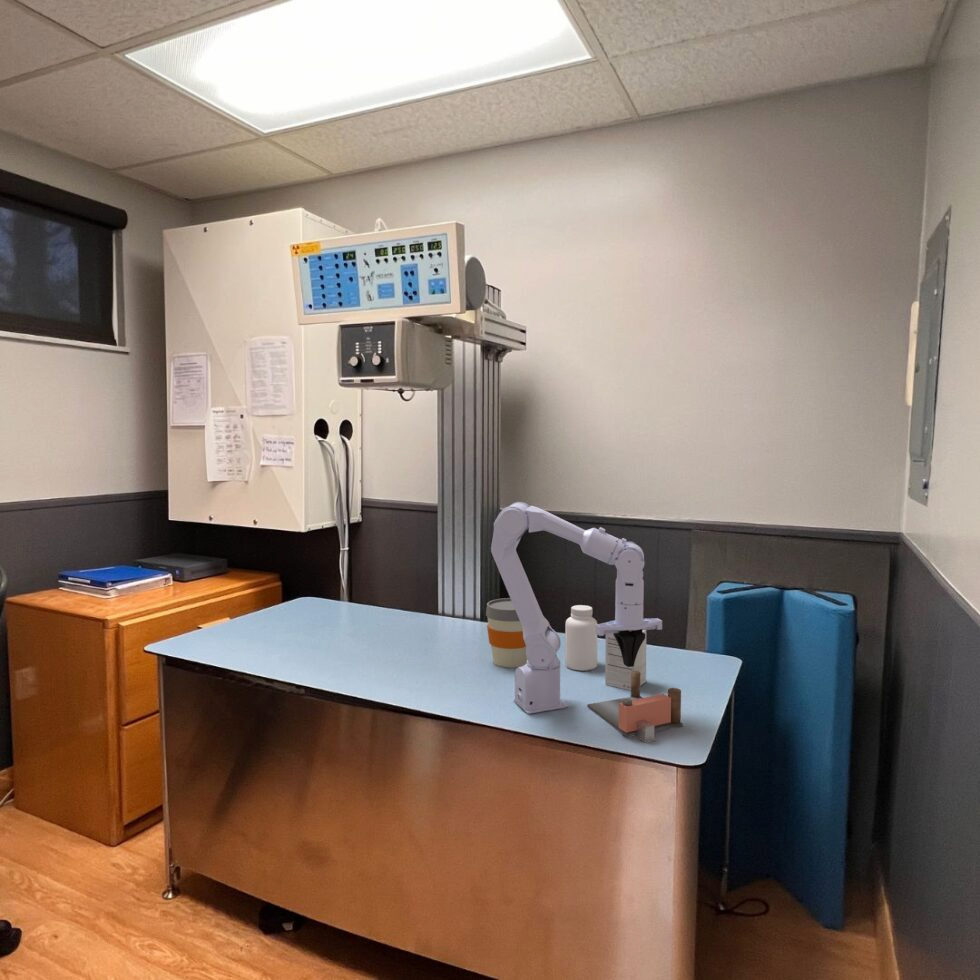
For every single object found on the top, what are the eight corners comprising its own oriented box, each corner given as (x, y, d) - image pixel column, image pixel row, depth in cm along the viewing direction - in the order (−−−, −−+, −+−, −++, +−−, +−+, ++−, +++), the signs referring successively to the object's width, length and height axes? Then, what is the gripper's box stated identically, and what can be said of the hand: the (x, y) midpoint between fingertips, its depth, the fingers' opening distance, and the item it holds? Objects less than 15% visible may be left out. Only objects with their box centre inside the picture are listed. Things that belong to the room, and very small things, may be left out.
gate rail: (670, 722, 137) (671, 694, 137) (626, 732, 133) (626, 704, 132) (662, 717, 140) (663, 690, 139) (618, 727, 135) (618, 699, 134)
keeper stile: (645, 742, 131) (645, 727, 131) (636, 736, 134) (636, 721, 134) (654, 740, 132) (654, 725, 132) (645, 734, 135) (645, 719, 134)
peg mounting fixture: (626, 737, 134) (626, 702, 133) (585, 705, 149) (585, 673, 148) (683, 725, 138) (684, 692, 138) (637, 696, 154) (638, 665, 153)
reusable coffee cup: (519, 673, 169) (519, 613, 167) (476, 664, 175) (476, 606, 174) (543, 658, 179) (543, 601, 178) (502, 650, 186) (502, 595, 185)
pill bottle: (599, 662, 176) (599, 604, 175) (595, 672, 168) (595, 612, 167) (568, 659, 178) (568, 602, 177) (562, 670, 171) (563, 610, 169)
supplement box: (618, 675, 167) (618, 624, 166) (646, 681, 162) (647, 629, 161) (604, 684, 161) (604, 631, 160) (633, 691, 156) (634, 637, 155)
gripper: (650, 594, 150) (649, 655, 151) (589, 600, 145) (588, 662, 147) (667, 602, 143) (666, 666, 144) (604, 608, 139) (603, 674, 140)
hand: (628, 665), depth 145 cm, fingers closed
